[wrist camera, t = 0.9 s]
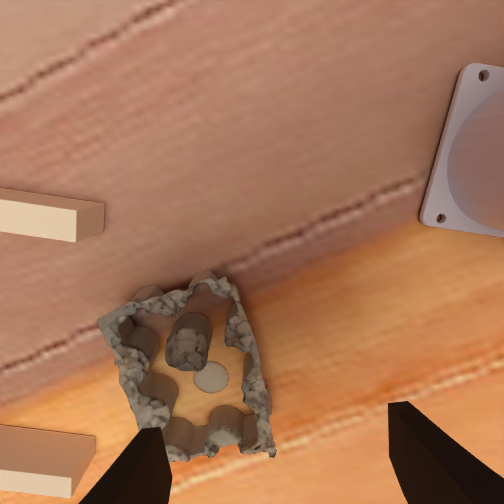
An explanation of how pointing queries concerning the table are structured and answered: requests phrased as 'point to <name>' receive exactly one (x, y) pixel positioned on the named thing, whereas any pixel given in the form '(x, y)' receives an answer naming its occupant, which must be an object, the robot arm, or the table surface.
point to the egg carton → (189, 359)
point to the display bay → (33, 440)
